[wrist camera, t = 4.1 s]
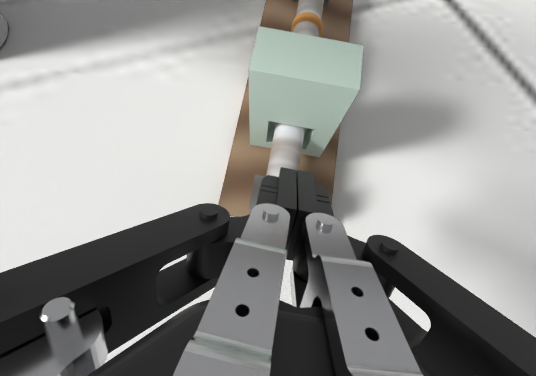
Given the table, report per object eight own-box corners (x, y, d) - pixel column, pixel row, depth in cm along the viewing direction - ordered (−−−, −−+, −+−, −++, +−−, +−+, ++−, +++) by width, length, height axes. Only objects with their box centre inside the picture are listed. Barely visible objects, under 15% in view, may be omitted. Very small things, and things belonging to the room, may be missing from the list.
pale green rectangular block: (319, 157, 31) (359, 89, 19) (249, 144, 31) (248, 69, 19) (323, 126, 32) (363, 45, 20) (256, 114, 32) (258, 26, 20)
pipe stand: (324, 232, 30) (346, 221, 23) (218, 213, 30) (208, 196, 23) (349, 6, 40) (369, -49, 33) (270, -9, 40) (273, -67, 33)
